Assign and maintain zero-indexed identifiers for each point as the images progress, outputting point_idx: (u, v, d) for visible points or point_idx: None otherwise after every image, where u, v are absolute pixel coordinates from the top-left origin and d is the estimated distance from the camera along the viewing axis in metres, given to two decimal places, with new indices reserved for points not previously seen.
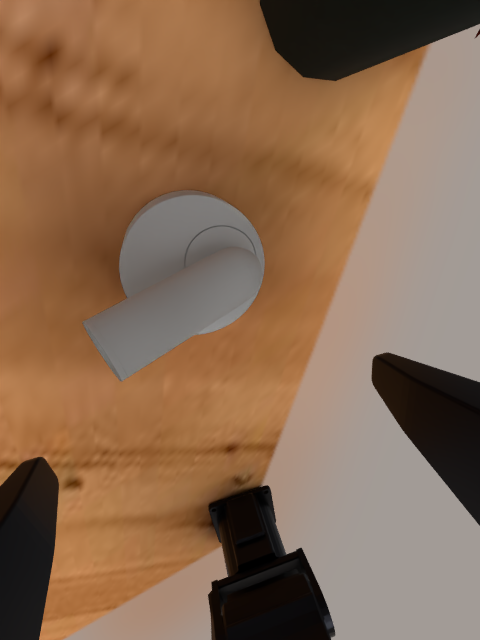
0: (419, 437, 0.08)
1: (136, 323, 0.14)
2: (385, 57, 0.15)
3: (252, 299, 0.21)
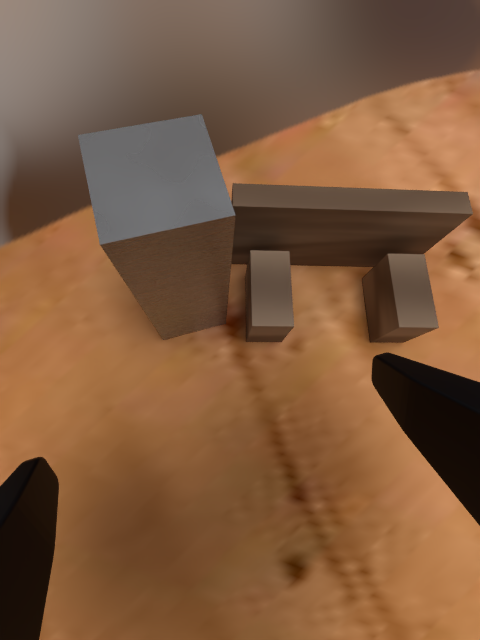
0: (419, 437, 0.08)
1: None
2: None
3: None
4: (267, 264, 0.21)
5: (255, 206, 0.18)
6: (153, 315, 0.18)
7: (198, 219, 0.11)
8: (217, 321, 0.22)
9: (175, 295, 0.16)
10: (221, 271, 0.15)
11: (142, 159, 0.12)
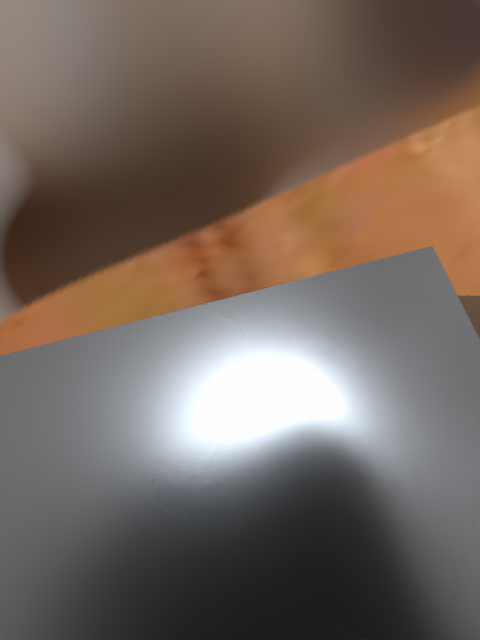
0: None
1: None
2: None
3: None
4: None
5: None
6: None
7: None
8: None
9: None
10: None
11: (225, 501, 0.02)
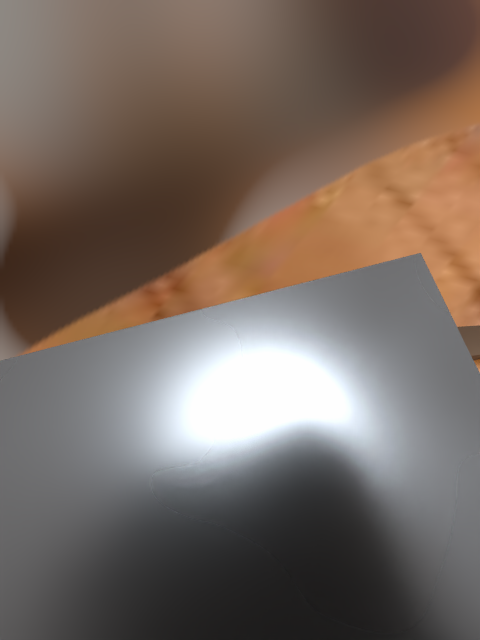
0: None
1: None
2: None
3: None
4: None
5: None
6: None
7: None
8: None
9: None
10: None
11: (221, 497, 0.03)
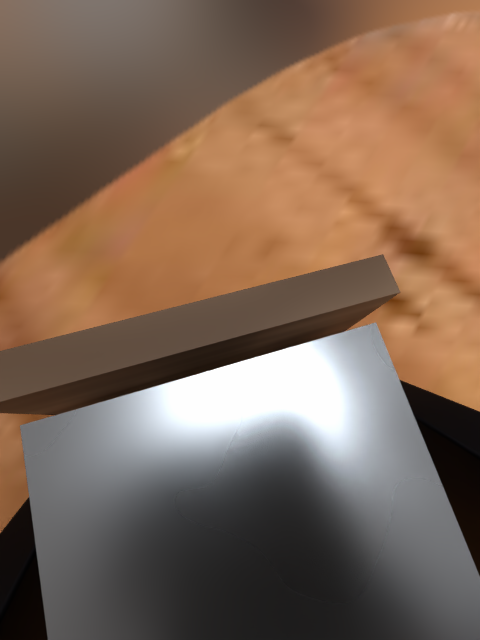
0: None
1: None
2: None
3: None
4: None
5: (9, 398, 0.10)
6: None
7: None
8: None
9: None
10: None
11: (224, 511, 0.04)
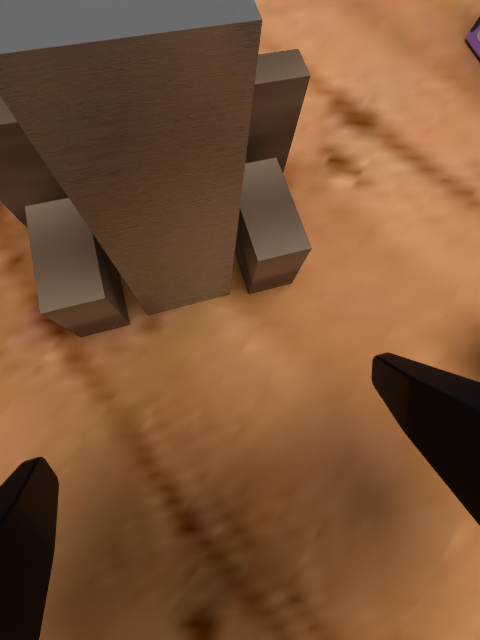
0: (419, 437, 0.08)
1: None
2: None
3: None
4: (53, 219, 0.14)
5: None
6: (127, 270, 0.12)
7: (187, 23, 0.05)
8: (219, 289, 0.17)
9: (157, 233, 0.10)
10: (227, 187, 0.09)
11: None
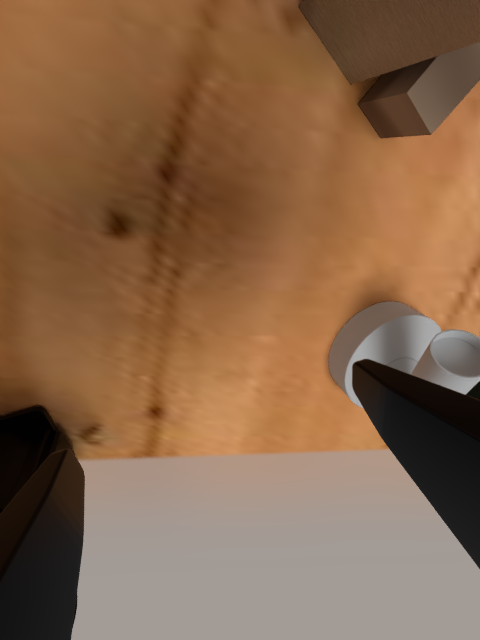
0: (396, 445, 0.08)
1: None
2: None
3: None
4: None
5: None
6: None
7: None
8: (356, 70, 0.17)
9: None
10: None
11: None
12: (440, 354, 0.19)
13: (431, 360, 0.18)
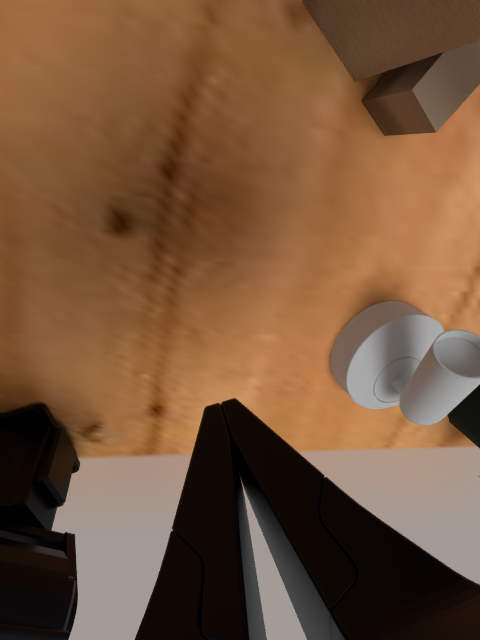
0: (249, 496, 0.07)
1: None
2: None
3: (364, 406, 0.26)
4: None
5: None
6: None
7: None
8: (360, 67, 0.17)
9: None
10: None
11: None
12: (443, 354, 0.19)
13: (434, 360, 0.18)
